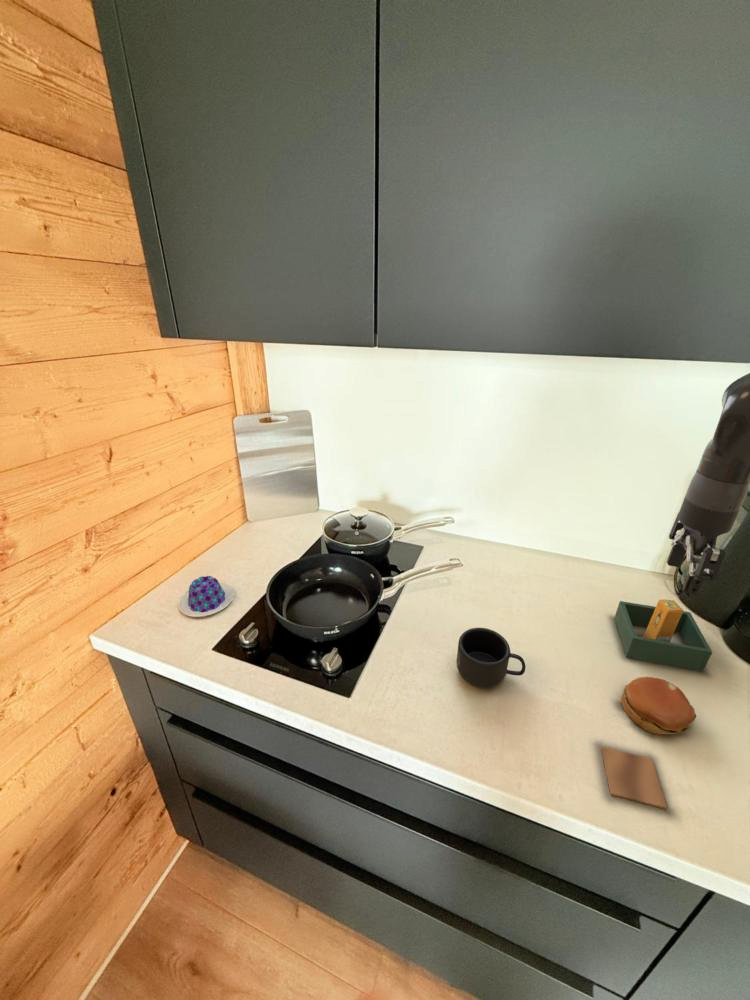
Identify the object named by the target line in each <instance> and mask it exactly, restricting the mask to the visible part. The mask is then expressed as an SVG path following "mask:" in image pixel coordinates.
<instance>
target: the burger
mask: <svg viewBox="0 0 750 1000" xmlns="http://www.w3.org/2000/svg"><path fill="white" fill-rule="evenodd" d="M620 702H621V705H622V708H623V709H624V712H625V713H626V714H627V716H628V717H629V718H630V719H631V720H632V721H633V722H634V723H636V724H637V725H638V726H640V727H641V728H642V729H644V730H645V731H647V732H649V733H652V734H658V735H660V734H661V735H676V734H683V733H685V731H686V730H688V729H689V727H690V725H692V723H693V722H694V721H695V719H696V718H697V714H696V712H695V708H694V707H693V705H692V704H691V703H690V701H689V699H688V697H687V696H686V694H685V693H684V692H683V691H682V690H681V689H680V688H679V686H677V685H675V684H673V683H672V682H670V681H667V680H666V679H663V678H659V677H653V676H641V677H636V678H634V679H633V680H631V681H630V682H629V683H627V684H626V685H625V686H624V689H623V695H622V696H621V701H620Z"/></svg>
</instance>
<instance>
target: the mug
mask: <svg viewBox="0 0 750 1000" xmlns="http://www.w3.org/2000/svg"><path fill="white" fill-rule="evenodd" d="M510 658H511V659H515V660H518V661H520V664H521V670H511V669H508V667H509V661H510ZM455 662H456V663H455V664H456V668H457V671H458V673H459V675H460V677H461V678H462V679H463V680H464V681H465V682H466V683H468V684H469V685H471V686H473V687H475V688H480V689H492V688H495V687H497V686H499V684H501V683H502V682H503V680H504V679H505V678H506V675H510V676H517V677H518V676H522V675H524V674H525V672H526V662H525V660H524V658H523V657H522V656H521V655H519V654H516V653H513V652H511V647H510V644H509V643H508V641H507V640H506V638H505V637H504V636H503V635H501V634H500V633H499V632H497V631H495V630H492V629H490V628H486V627H471V628H468V629H467V630H465V631H463V633H461V635H460V636H459V639H458V644H457V652H456V661H455Z"/></svg>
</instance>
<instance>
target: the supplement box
mask: <svg viewBox="0 0 750 1000" xmlns="http://www.w3.org/2000/svg"><path fill="white" fill-rule="evenodd" d="M655 607H656V608H655V611H654V613H653V615H652V618H651V620H650V622H649V625H648V627H646V630H645V632H644V635H643V636H642V637H644V638H650V639H655V640H661V641H666V642H671V640H672V638H673V636H674V633H675V632H674V631H675V629H676V626H677V624H678V622H679V619H680V617H681V615H682V613H683V611H684V609H683V608H682V607H681V606H680V605H679V604H678V603H677V602H676V601H675V599H663V598H662V599H661V598H660V599H658V601H657V603H656V606H655Z"/></svg>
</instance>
